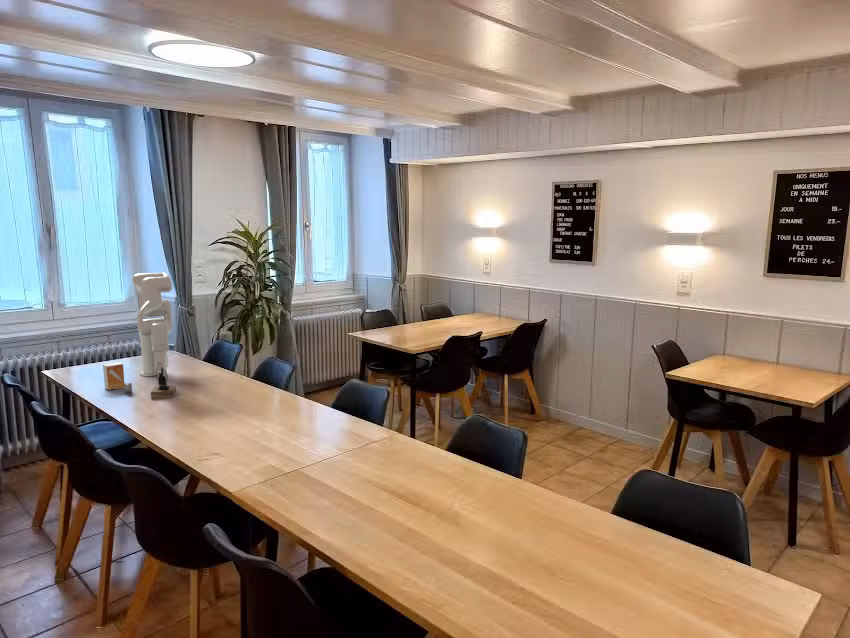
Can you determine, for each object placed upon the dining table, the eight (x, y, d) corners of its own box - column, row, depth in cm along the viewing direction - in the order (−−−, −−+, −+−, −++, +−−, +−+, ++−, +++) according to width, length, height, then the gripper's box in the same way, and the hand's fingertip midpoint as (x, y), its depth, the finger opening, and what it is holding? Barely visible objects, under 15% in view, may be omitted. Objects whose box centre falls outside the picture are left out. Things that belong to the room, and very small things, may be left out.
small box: (108, 391, 297) (106, 366, 295) (104, 388, 302) (102, 364, 299) (125, 388, 303) (123, 363, 300) (121, 385, 307) (119, 361, 305)
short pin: (125, 392, 295) (124, 383, 294) (133, 392, 296) (132, 382, 295) (123, 394, 292) (122, 385, 291) (131, 394, 292) (130, 384, 292)
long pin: (160, 389, 292) (158, 366, 290) (168, 388, 293) (166, 365, 291) (159, 391, 288) (157, 367, 286) (166, 390, 289) (165, 367, 287)
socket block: (155, 392, 295) (154, 386, 294) (176, 391, 297) (175, 385, 297) (151, 399, 285) (150, 392, 285) (172, 397, 288) (172, 390, 287)
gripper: (155, 344, 294) (158, 379, 297) (148, 351, 278) (151, 388, 281) (171, 343, 296) (174, 378, 299) (165, 350, 280) (168, 387, 283)
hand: (163, 382), depth 290 cm, fingers closed on long pin, 3 cm apart
